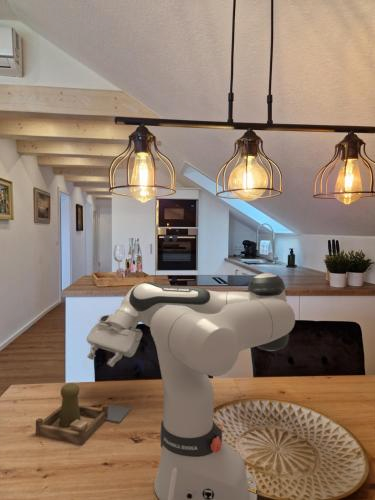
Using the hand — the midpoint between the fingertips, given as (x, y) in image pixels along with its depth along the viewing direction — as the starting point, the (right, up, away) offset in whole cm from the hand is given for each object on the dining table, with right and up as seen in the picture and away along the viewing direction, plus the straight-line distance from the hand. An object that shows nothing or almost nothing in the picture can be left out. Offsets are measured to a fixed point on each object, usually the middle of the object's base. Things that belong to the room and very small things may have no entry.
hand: (99, 361), depth 105 cm
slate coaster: (+5, -15, -4) cm, 16 cm away
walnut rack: (-5, -15, -11) cm, 19 cm away
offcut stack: (-2, -15, -15) cm, 21 cm away
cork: (-6, -15, -9) cm, 18 cm away
